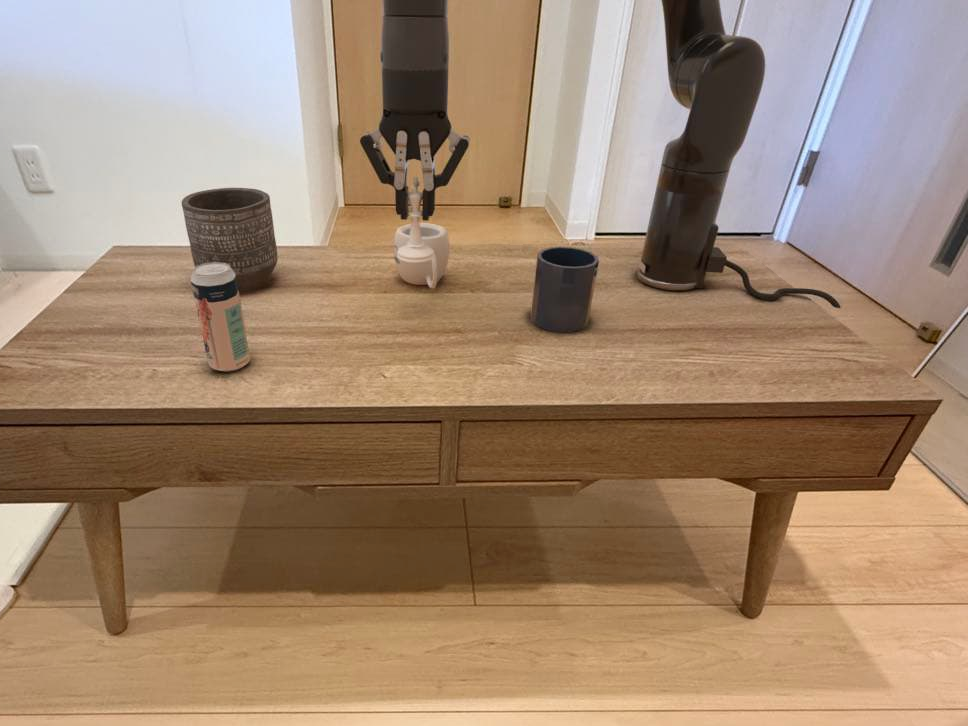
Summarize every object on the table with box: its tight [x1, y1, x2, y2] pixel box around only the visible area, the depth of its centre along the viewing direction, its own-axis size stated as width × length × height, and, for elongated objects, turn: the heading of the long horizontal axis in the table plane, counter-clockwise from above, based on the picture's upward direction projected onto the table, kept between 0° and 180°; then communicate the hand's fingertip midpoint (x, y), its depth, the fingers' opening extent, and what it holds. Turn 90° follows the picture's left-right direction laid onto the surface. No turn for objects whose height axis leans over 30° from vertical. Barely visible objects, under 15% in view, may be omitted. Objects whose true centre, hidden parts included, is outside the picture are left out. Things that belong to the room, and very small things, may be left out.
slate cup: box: [530, 246, 600, 333], centre depth 82 cm, size 8×8×9 cm
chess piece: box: [397, 176, 434, 263], centre depth 78 cm, size 5×5×10 cm
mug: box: [393, 222, 450, 290], centre depth 92 cm, size 12×8×8 cm
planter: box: [181, 187, 279, 294], centre depth 90 cm, size 12×12×13 cm
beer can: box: [189, 262, 251, 373], centre depth 70 cm, size 5×5×12 cm
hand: (415, 217), depth 78 cm, fingers closed on chess piece
